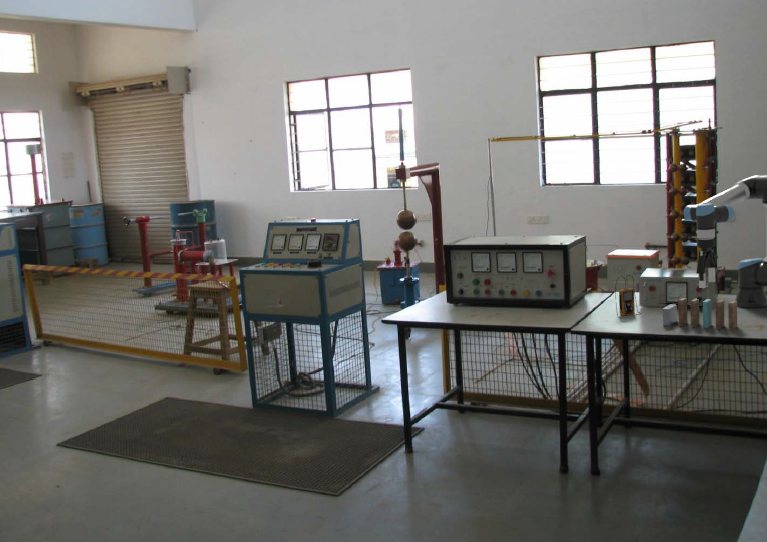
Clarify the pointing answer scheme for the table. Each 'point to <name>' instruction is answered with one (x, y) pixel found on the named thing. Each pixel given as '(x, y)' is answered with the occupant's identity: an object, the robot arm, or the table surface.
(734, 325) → the tile
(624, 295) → the multimeter
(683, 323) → the tile
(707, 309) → the tile
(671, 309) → the bar
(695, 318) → the tile
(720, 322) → the tile
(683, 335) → the table surface
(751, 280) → the robot arm
